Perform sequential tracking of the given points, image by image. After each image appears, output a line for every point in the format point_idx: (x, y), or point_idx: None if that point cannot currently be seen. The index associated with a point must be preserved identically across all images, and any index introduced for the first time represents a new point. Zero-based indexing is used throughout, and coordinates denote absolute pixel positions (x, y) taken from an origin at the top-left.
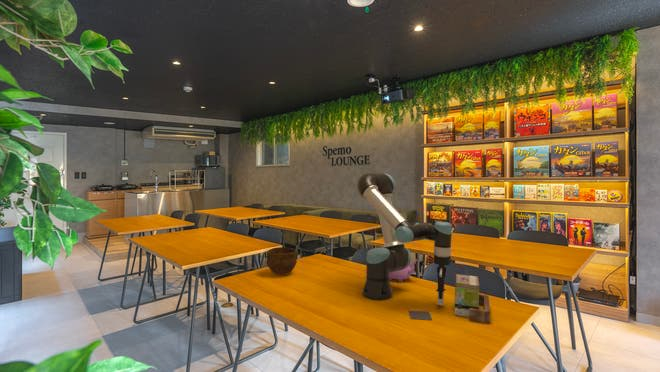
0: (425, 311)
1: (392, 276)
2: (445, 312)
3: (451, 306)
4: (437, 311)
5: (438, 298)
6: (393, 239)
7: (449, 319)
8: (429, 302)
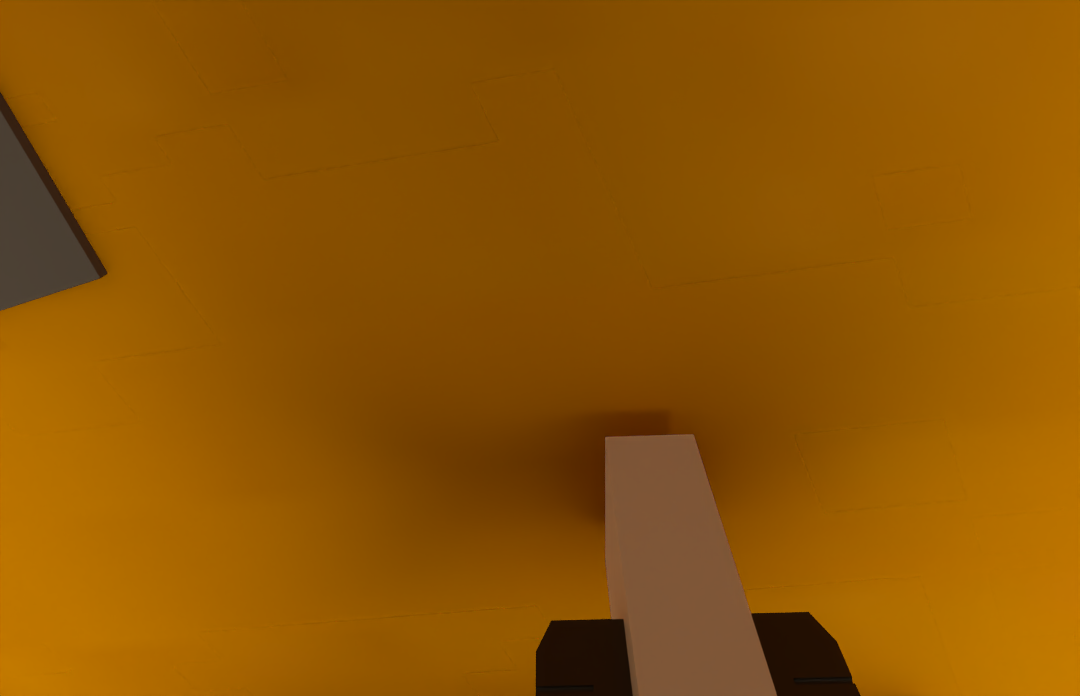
0: (28, 193)
1: None
2: (321, 593)
3: None
4: (276, 451)
5: (621, 588)
6: None
7: (7, 678)
8: (844, 183)
